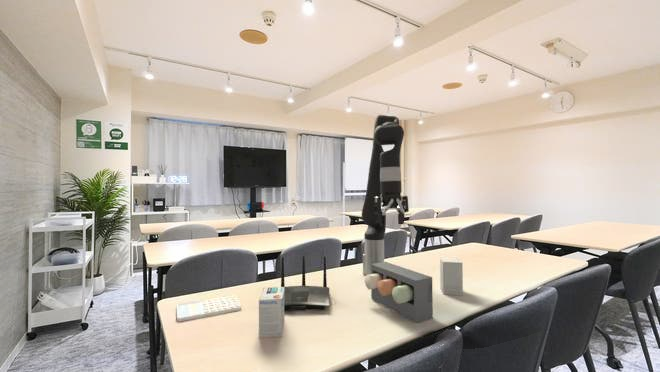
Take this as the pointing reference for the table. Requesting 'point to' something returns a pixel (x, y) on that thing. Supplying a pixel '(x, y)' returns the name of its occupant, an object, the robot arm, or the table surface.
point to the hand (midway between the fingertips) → (392, 225)
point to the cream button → (373, 280)
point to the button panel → (421, 284)
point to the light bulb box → (271, 312)
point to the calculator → (207, 308)
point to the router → (305, 293)
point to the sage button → (403, 293)
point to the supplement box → (451, 276)
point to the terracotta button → (386, 286)
